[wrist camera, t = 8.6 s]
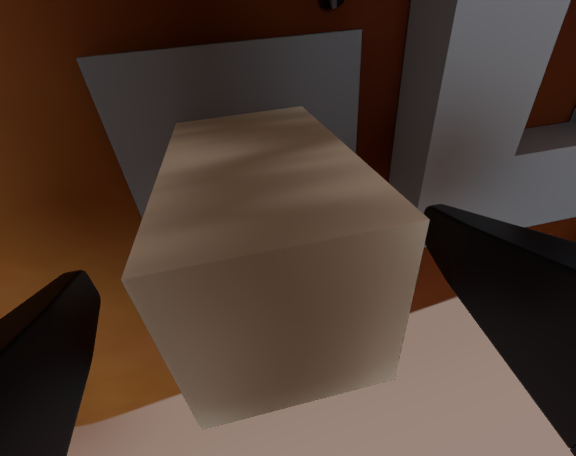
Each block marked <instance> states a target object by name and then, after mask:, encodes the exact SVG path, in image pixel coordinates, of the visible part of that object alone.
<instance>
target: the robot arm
mask: <svg viewBox="0 0 576 456" xmlns="http://www.w3.org/2000/svg"><path fill="white" fill-rule="evenodd" d="M424 215H425V216H426V217H427V218H428V219H430V221H429V226H428V230H427V235H426V239H425V245H426V247H427V249H428V250H429V252H430V254H431V255H432V257H433V259H434V261H435V262H436V264H437V266H438V268H439V269H440V271H441V273H442V274H443V276H444V278H445V279H446V281H447V282H448V284H449V285H450V287H451V288H452V290H453V291H454V292H455V294H456V295H457V296H458V298H459V299H460V300H461V302H462V303H463V304H464V306H465V307H466V309H467V310H468V311H469V313H470V314H471V315H472V317H473V318H474V320H475V321H476V322H477V324H478V325H479V326H480V328H481V329H482V330H483V332H484V333H485V335H486V336H487V337H488V338H489V340H490V341H491V343H492V344H493V345H494V347H495V348H496V349H497V351H498V352H499V354H500V355H501V356H502V357H503V359H504V360H505V362H506V363H507V364H508V366H509V367H510V369H511V370H512V371H513V373H514V374H515V375H516V377H517V378H518V379H519V381H520V382H521V384H522V385H523V386H524V388H525V389H526V390H527V392H528V393H529V394H530V396H531V397H532V399H533V400H534V401H535V403H536V404H537V405H538V407H539V408H540V410H542V412H543V413H544V415H545V416H546V418H547V419H548V420H549V422H550V423H551V425H552V426H553V427H554V429H555V430H556V431H557V433H558V434H559V435H560V437H561V438H562V439H563V441H564V442H565V443H566V445H567V446H568V447H569V448H571V449H570V451H571V452H572V453H573V455H574V456H576V242H573V241H569V240H566V239H562V238H559V237H555V236H552V235H548V234H545V233H542V232H538V231H535V230H531V229H528V228H524V227H521V226H517V225H514V224H510V223H507V222H503V221H500V220H496V219H493V218H490V217H486V216H483V215H479V214H476V213H472V212H469V211H465V210H462V209H458V208H455V207H451V206H448V205H444V204H436V205H431V206H428V207H426V209H425V211H424ZM100 303H101V299H100V295H99V292H98V291H97V289H96V287H95V286H94V284H93V283H92V281H91V279H90V278H89V276H88V274H87V273H86V272H85V271H82V270H78V271H73V272H67V273H64V274H62V275H60V276H59V277H58V278H56V279H55V280H53V281H52V282H51V283H49V284H48V285H47V286H45V287H44V288H43V289H41V290H40V291H38V292H37V293H36V294H34V295H33V296H32V297H30V298H29V299H27V300H26V301H25V302H23V303H22V304H21V305H19V306H18V307H16V308H15V309H14V310H12V311H11V312H10V313H8V314H7V315H5V316H4V317H3V318H1V319H0V456H67V452H68V448H69V444H70V441H71V437H72V434H73V430H74V426H75V423H76V419H77V415H78V411H79V408H80V404H81V400H82V396H83V393H84V389H85V385H86V381H87V378H88V374H89V370H90V366H91V362H92V357H93V352H94V345H95V338H96V331H97V324H98V317H99V310H100Z"/></svg>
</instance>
